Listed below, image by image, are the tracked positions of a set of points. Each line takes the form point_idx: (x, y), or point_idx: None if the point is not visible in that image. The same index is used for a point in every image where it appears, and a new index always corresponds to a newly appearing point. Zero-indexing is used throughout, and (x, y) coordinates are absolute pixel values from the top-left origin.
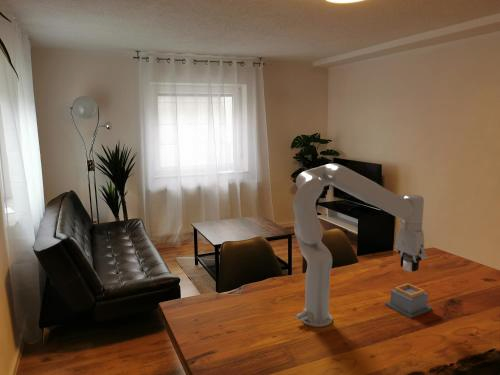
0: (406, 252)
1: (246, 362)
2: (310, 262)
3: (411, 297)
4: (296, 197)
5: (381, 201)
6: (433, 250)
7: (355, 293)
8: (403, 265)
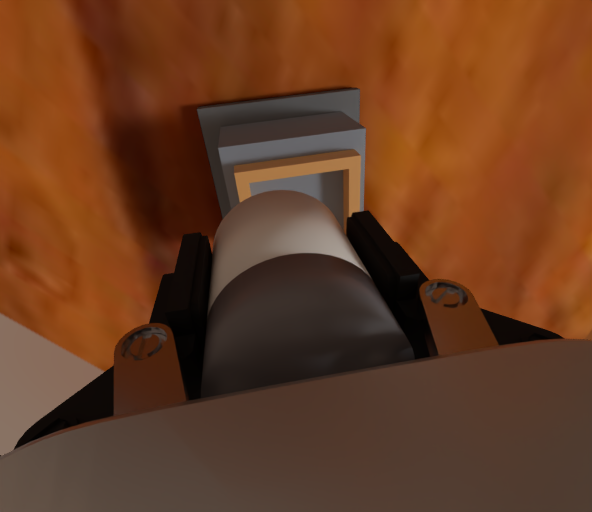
0: (303, 397)
1: None
2: None
3: (234, 168)
4: None
5: None
6: None
7: (529, 31)
8: (320, 217)
